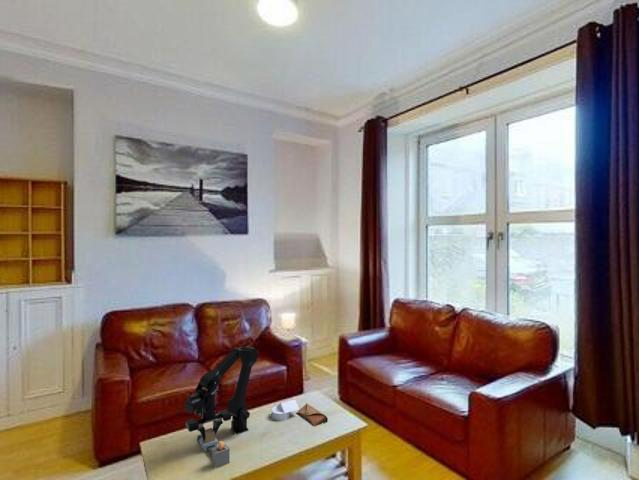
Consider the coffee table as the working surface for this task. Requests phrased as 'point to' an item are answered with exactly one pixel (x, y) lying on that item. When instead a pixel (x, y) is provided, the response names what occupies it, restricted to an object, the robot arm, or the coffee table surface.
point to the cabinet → (220, 456)
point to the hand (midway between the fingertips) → (208, 438)
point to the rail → (207, 447)
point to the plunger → (220, 445)
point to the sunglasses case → (312, 415)
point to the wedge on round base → (284, 410)
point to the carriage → (208, 439)
